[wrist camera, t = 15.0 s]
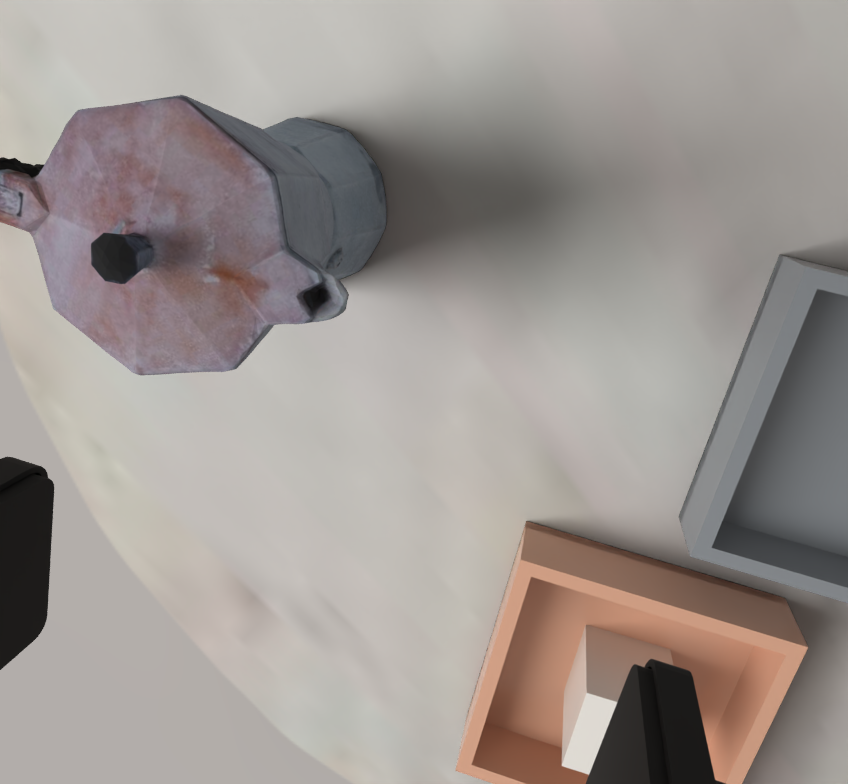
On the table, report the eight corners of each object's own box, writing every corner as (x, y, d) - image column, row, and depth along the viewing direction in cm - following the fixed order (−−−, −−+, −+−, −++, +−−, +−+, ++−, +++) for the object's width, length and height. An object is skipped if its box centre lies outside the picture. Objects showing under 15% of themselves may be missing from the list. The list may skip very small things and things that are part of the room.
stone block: (585, 624, 43) (586, 692, 38) (670, 649, 43) (683, 722, 37) (564, 690, 45) (561, 765, 39) (645, 715, 44) (654, 795, 39)
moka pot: (419, 325, 41) (284, 460, 22) (167, 258, 43) (-153, 331, 24) (458, 149, 38) (338, 135, 19) (184, 85, 40) (-169, 16, 21)
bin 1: (526, 520, 43) (520, 559, 39) (785, 598, 41) (808, 647, 37) (466, 717, 48) (455, 770, 44) (694, 794, 46) (706, 856, 42)
